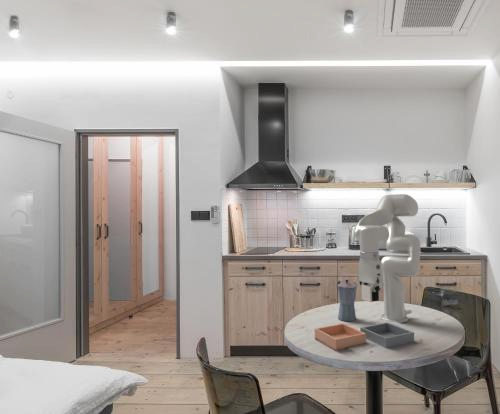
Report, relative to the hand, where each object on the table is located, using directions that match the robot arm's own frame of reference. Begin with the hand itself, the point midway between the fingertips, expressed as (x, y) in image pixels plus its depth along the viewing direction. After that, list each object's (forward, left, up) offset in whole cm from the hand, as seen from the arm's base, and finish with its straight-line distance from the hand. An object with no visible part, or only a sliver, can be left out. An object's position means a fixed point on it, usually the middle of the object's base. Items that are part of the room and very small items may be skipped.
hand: (370, 299), depth 155 cm
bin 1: (+12, -6, -18) cm, 22 cm away
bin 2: (-6, +2, -18) cm, 19 cm away
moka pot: (-10, -30, -18) cm, 36 cm away
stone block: (0, 0, 0) cm, 0 cm away
